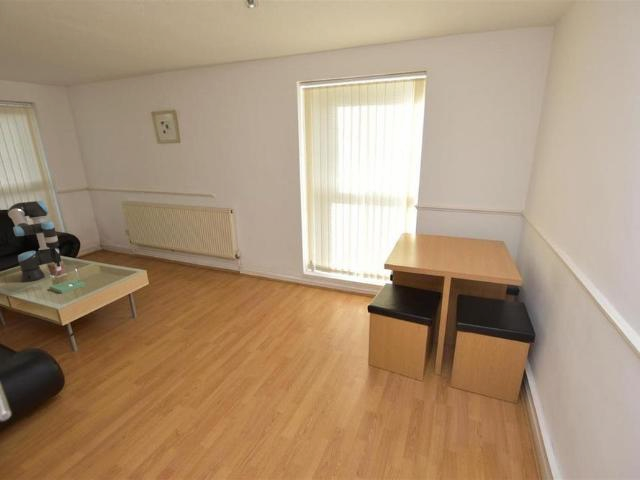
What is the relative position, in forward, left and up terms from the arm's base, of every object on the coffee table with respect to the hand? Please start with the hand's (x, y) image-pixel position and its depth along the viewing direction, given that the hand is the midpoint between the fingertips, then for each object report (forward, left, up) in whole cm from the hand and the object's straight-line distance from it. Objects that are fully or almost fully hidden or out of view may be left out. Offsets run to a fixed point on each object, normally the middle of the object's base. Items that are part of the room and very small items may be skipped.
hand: (59, 270), depth 247 cm
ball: (+12, 0, -12) cm, 17 cm away
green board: (+8, 0, -13) cm, 15 cm away
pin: (+13, +6, -11) cm, 18 cm away
